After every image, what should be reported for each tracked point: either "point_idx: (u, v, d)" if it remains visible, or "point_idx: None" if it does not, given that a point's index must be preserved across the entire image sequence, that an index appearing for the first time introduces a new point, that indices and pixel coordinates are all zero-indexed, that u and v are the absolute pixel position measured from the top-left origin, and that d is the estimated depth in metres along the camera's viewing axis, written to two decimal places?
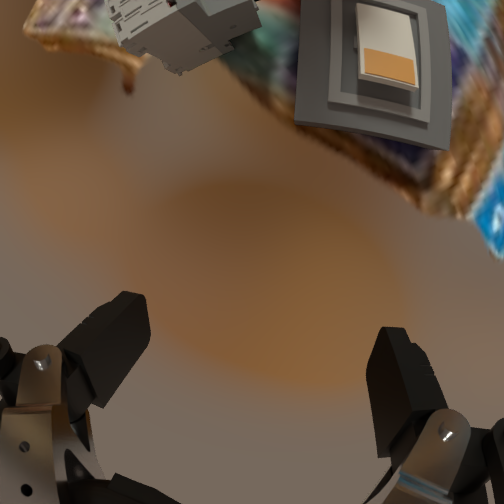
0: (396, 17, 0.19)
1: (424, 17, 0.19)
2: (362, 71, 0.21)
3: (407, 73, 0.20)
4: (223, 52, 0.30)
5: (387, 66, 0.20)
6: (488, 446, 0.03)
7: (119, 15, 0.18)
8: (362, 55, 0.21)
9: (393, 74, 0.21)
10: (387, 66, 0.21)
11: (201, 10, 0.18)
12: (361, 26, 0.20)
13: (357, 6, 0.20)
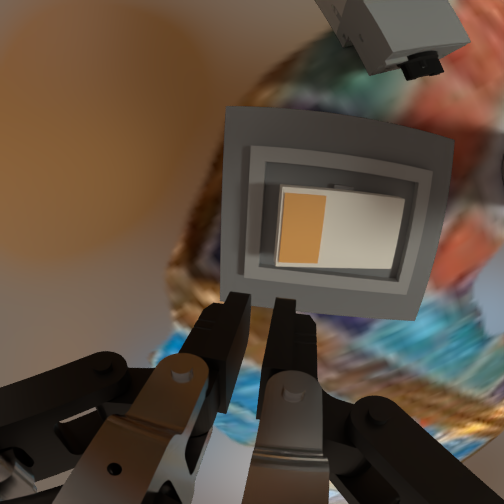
0: (385, 250, 0.22)
1: (392, 289, 0.24)
2: (286, 189, 0.20)
3: (293, 252, 0.21)
4: (337, 34, 0.21)
5: (299, 224, 0.20)
6: (354, 433, 0.05)
7: None
8: (313, 192, 0.20)
9: (288, 233, 0.21)
10: (300, 225, 0.21)
11: None
12: (363, 197, 0.20)
13: (398, 199, 0.20)
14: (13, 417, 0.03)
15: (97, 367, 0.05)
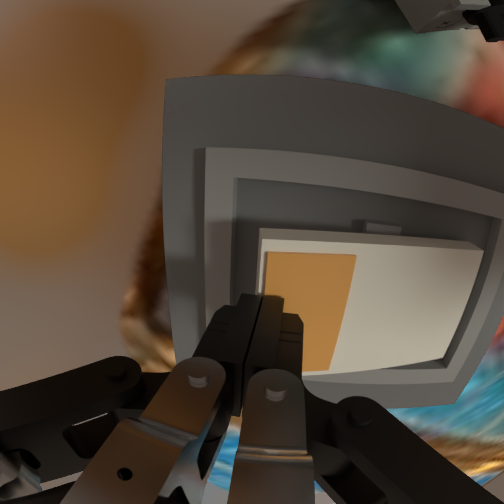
0: (441, 335, 0.11)
1: (436, 378, 0.13)
2: (271, 244, 0.09)
3: None
4: None
5: (297, 313, 0.10)
6: (337, 434, 0.05)
7: None
8: (329, 248, 0.09)
9: None
10: (299, 313, 0.10)
11: None
12: (424, 253, 0.09)
13: (475, 250, 0.10)
14: (21, 420, 0.03)
15: (110, 373, 0.05)
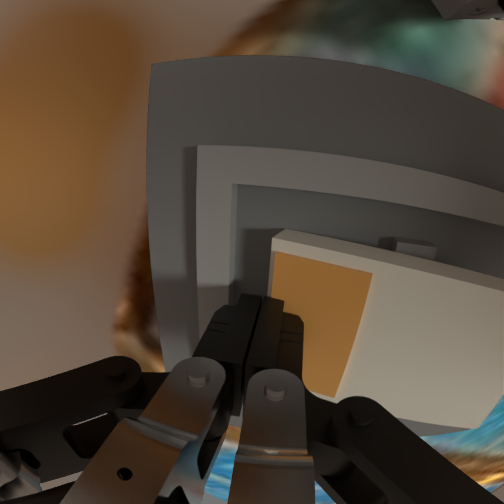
0: (479, 401, 0.07)
1: None
2: (280, 245, 0.09)
3: None
4: None
5: None
6: (337, 434, 0.05)
7: None
8: (342, 260, 0.08)
9: None
10: (307, 325, 0.09)
11: None
12: (466, 290, 0.06)
13: None
14: (21, 420, 0.03)
15: (110, 372, 0.05)
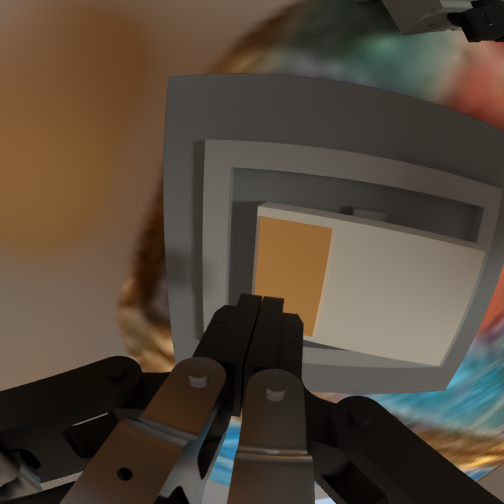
0: (435, 337, 0.11)
1: None
2: (264, 211, 0.12)
3: None
4: None
5: (283, 272, 0.12)
6: (337, 434, 0.05)
7: None
8: (309, 220, 0.11)
9: (265, 281, 0.13)
10: (286, 273, 0.12)
11: None
12: (405, 239, 0.10)
13: (474, 250, 0.09)
14: (21, 420, 0.03)
15: (110, 373, 0.05)
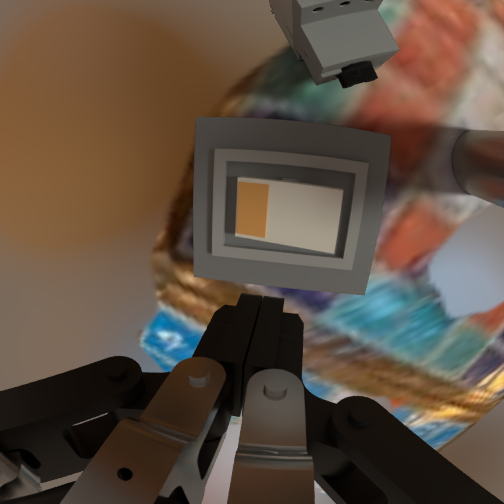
0: (326, 235, 0.26)
1: (337, 265, 0.30)
2: (240, 179, 0.27)
3: (246, 227, 0.28)
4: (294, 49, 0.27)
5: (249, 205, 0.28)
6: (337, 434, 0.05)
7: None
8: (259, 181, 0.27)
9: (241, 211, 0.28)
10: (251, 206, 0.28)
11: (300, 16, 0.16)
12: (301, 187, 0.25)
13: (337, 190, 0.24)
14: (21, 420, 0.03)
15: (110, 373, 0.05)
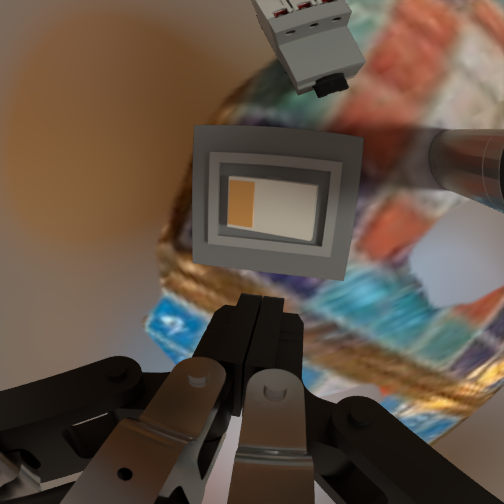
0: (303, 225, 0.31)
1: (317, 252, 0.34)
2: (231, 178, 0.32)
3: (236, 218, 0.33)
4: (280, 62, 0.32)
5: (238, 200, 0.32)
6: (337, 434, 0.05)
7: None
8: (246, 179, 0.31)
9: (232, 205, 0.33)
10: (240, 201, 0.32)
11: (276, 39, 0.21)
12: (281, 183, 0.30)
13: (311, 186, 0.29)
14: (21, 420, 0.03)
15: (110, 372, 0.05)
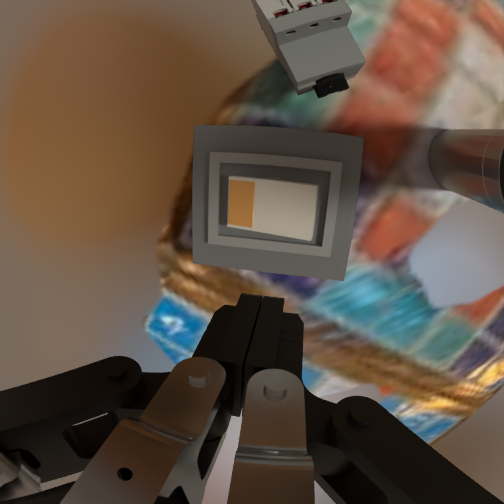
0: (303, 225, 0.31)
1: (317, 252, 0.34)
2: (231, 178, 0.32)
3: (236, 218, 0.33)
4: (280, 62, 0.32)
5: (238, 200, 0.32)
6: (337, 434, 0.05)
7: None
8: (247, 179, 0.31)
9: (232, 205, 0.33)
10: (240, 201, 0.32)
11: (276, 39, 0.21)
12: (281, 183, 0.30)
13: (312, 186, 0.29)
14: (21, 420, 0.03)
15: (110, 372, 0.05)
